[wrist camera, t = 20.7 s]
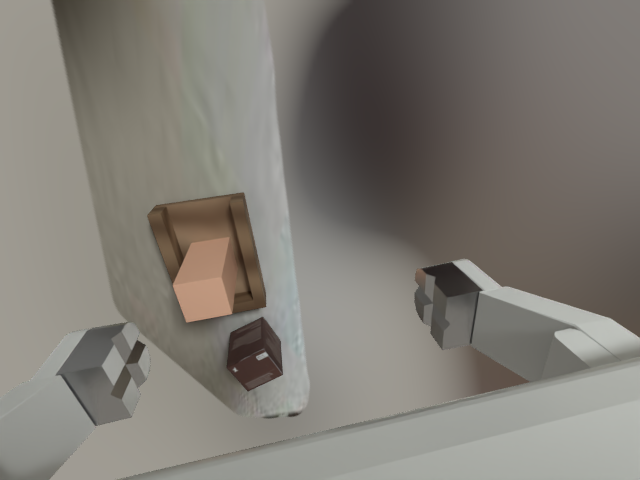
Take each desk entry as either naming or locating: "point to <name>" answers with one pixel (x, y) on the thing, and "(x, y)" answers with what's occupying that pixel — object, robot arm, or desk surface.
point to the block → (207, 280)
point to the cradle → (208, 224)
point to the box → (255, 354)
